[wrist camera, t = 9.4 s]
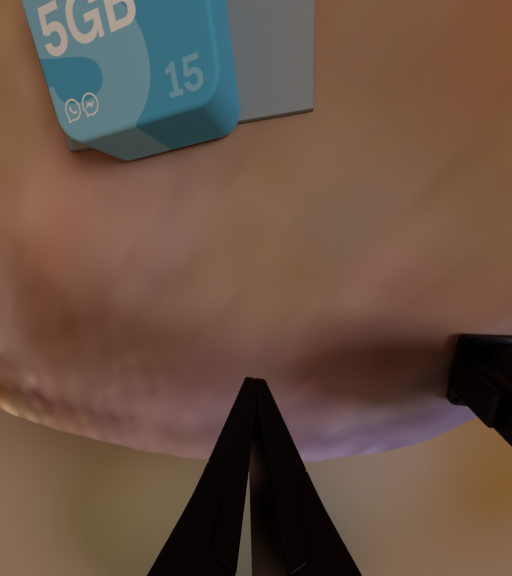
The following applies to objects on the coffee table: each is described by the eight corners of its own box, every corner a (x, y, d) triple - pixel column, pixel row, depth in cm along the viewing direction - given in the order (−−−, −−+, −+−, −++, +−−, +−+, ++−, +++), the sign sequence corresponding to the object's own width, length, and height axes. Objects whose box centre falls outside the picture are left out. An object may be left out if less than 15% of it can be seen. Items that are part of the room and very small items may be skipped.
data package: (63, 146, 15) (-9, -90, 12) (117, 165, 19) (72, -6, 16) (223, 98, 12) (177, -224, 9) (243, 132, 16) (216, -80, 13)
